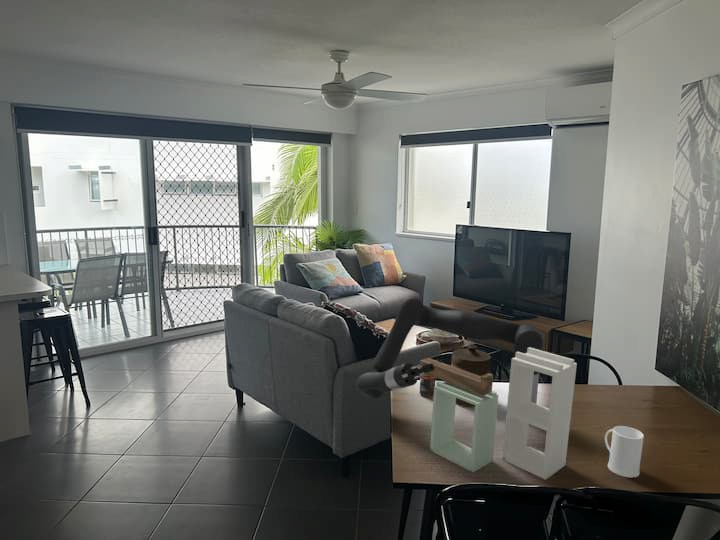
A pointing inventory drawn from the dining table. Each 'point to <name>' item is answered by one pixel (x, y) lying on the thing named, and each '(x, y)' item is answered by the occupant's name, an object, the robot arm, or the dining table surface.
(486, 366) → the wooden container
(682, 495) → the dining table surface
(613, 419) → the dining table surface
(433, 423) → the rest stand
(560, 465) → the shelf stand
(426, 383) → the supplement bottle
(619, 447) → the mug
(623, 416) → the dining table surface
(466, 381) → the hook bar
